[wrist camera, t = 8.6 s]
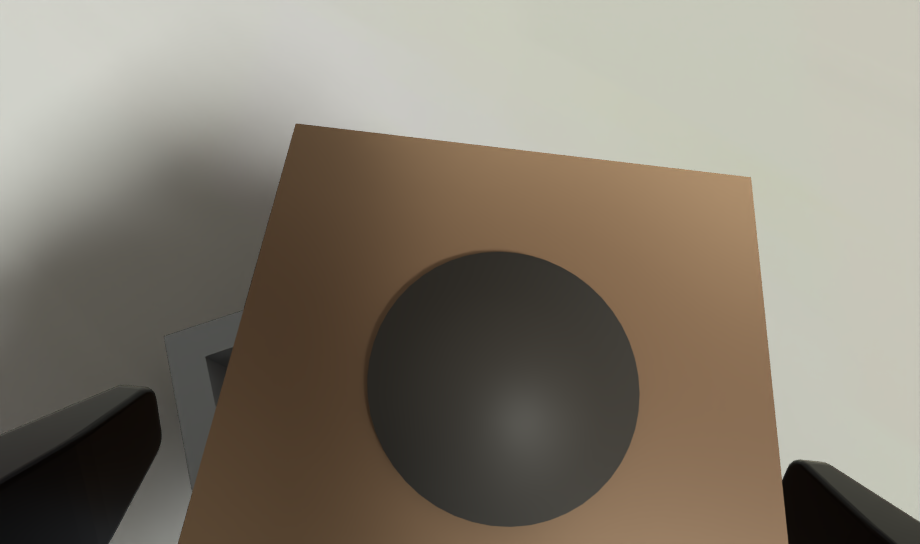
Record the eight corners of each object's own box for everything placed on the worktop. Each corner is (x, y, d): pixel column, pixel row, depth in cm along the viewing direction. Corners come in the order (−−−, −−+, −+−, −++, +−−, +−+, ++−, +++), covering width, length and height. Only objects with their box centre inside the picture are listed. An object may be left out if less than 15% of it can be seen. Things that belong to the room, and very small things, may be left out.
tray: (807, 709, 15) (890, 760, 12) (332, 966, 13) (303, 1100, 10) (571, 234, 21) (592, 195, 18) (206, 358, 18) (163, 336, 15)
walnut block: (523, 543, 16) (820, 765, 3) (372, 524, 16) (132, 677, 3) (533, 390, 17) (756, 171, 5) (396, 373, 17) (293, 117, 5)
